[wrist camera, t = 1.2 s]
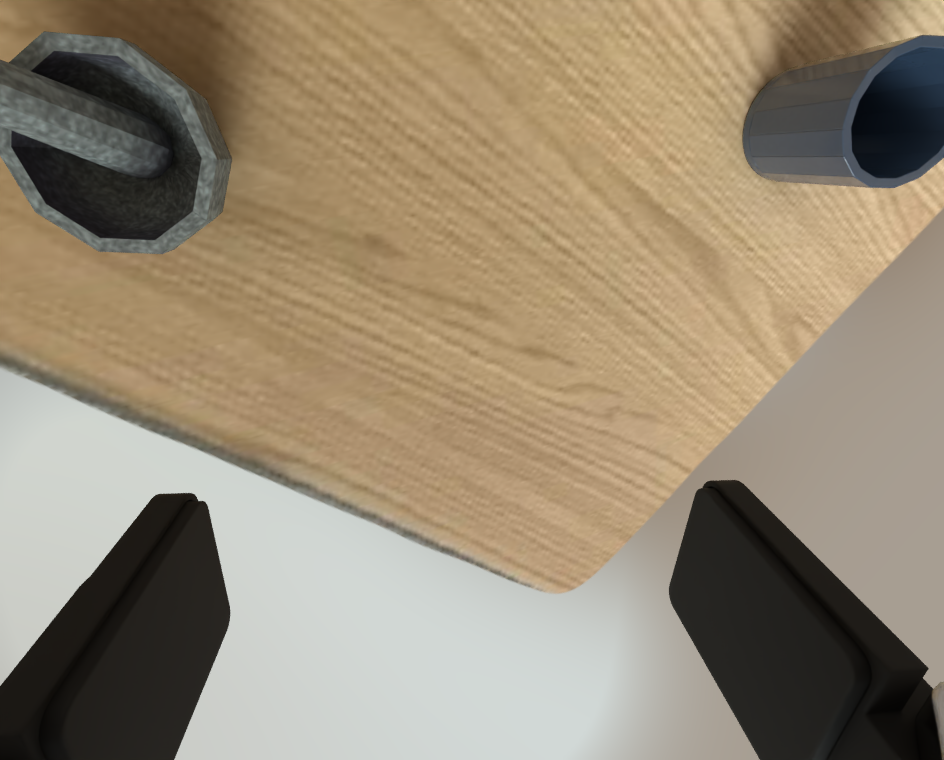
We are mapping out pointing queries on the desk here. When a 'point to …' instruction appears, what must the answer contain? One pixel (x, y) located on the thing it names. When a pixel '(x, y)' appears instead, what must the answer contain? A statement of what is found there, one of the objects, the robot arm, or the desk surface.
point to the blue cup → (852, 117)
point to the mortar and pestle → (110, 143)
